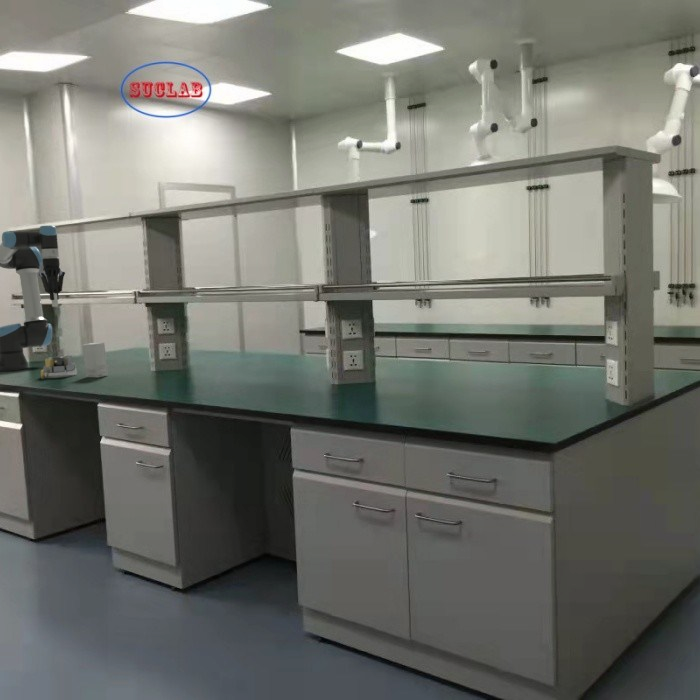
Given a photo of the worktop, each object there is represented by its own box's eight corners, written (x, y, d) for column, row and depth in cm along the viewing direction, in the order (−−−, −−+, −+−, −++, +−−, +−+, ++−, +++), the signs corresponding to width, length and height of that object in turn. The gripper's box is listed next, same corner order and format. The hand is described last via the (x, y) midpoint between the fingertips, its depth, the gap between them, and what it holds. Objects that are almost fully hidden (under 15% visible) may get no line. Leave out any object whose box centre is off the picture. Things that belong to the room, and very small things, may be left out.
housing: (43, 375, 366) (41, 357, 365) (76, 372, 371) (74, 354, 370) (44, 379, 352) (42, 360, 351) (78, 376, 358) (76, 357, 357)
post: (41, 378, 355) (40, 370, 354) (44, 378, 356) (44, 369, 355) (41, 379, 353) (40, 370, 353) (45, 378, 354) (44, 370, 354)
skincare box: (108, 375, 353) (105, 342, 351) (96, 378, 347) (93, 344, 346) (96, 375, 358) (93, 342, 356) (84, 377, 352) (81, 343, 350)
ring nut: (59, 372, 352) (57, 359, 351) (37, 371, 358) (36, 359, 358) (81, 368, 364) (80, 355, 364) (60, 367, 371) (59, 355, 370)
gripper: (42, 257, 360) (47, 307, 362) (67, 257, 370) (71, 305, 373) (33, 258, 364) (38, 307, 367) (58, 258, 375) (62, 305, 377)
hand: (55, 306), depth 370 cm, fingers closed
